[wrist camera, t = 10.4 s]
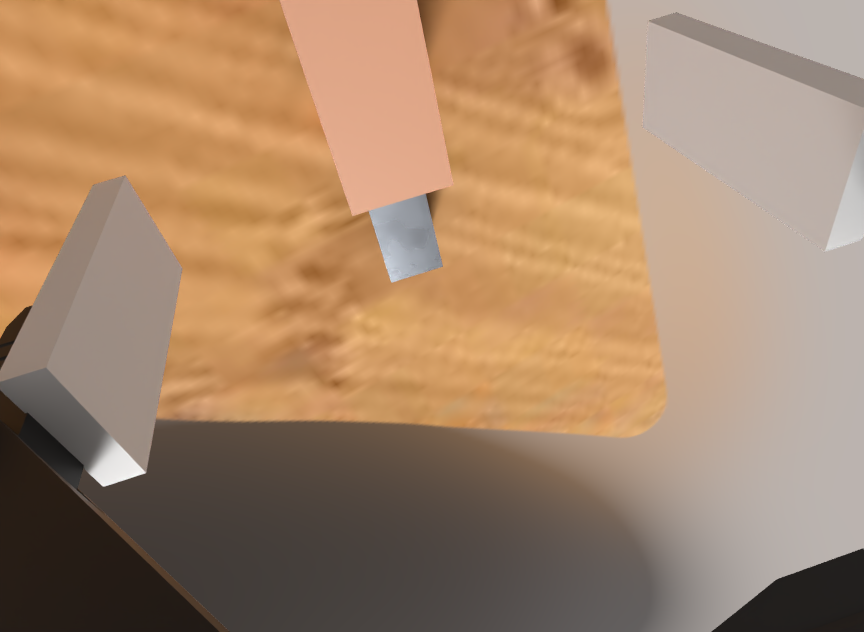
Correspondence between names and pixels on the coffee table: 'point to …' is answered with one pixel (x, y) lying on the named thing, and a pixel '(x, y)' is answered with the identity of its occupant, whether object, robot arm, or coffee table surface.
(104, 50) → the coffee table surface
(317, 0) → the salmon pink bridge block
